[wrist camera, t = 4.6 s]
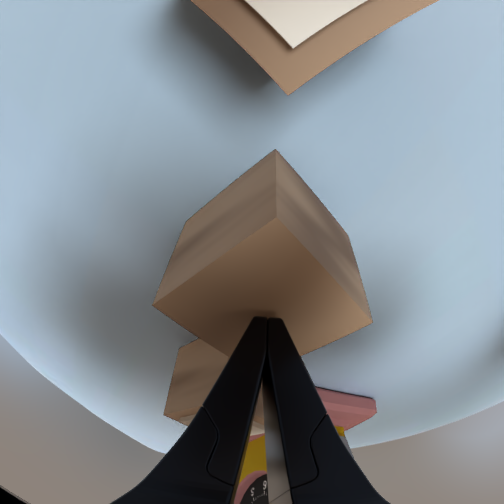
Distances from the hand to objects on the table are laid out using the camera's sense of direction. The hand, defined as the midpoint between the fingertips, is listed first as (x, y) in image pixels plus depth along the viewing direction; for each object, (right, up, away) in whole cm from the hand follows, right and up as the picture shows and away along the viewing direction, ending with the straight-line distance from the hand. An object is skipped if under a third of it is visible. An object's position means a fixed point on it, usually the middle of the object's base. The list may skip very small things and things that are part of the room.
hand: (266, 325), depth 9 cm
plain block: (0, +3, +4) cm, 5 cm away
